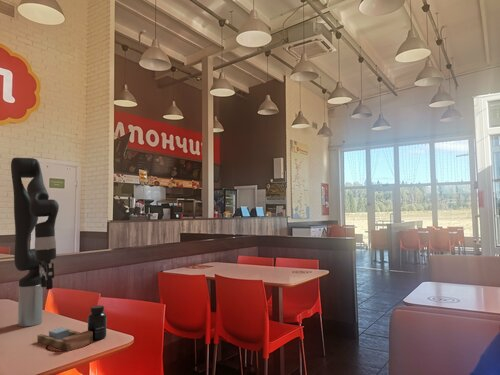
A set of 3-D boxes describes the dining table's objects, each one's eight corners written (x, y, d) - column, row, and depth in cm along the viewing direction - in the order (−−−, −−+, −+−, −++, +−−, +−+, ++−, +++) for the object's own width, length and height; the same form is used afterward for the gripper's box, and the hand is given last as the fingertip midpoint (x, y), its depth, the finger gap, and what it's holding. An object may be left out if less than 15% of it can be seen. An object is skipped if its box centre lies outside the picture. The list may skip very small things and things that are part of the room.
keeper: (48, 341, 141) (48, 331, 141) (61, 337, 145) (61, 327, 145) (56, 344, 138) (56, 333, 139) (68, 339, 142) (68, 329, 143)
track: (37, 341, 141) (37, 331, 141) (62, 334, 149) (62, 324, 149) (67, 351, 130) (67, 339, 130) (92, 342, 138) (92, 331, 139)
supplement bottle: (99, 341, 139) (99, 309, 140) (83, 340, 141) (83, 308, 141) (110, 335, 146) (110, 304, 147) (94, 334, 147) (94, 304, 148)
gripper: (31, 248, 153) (32, 288, 152) (39, 249, 143) (40, 291, 141) (51, 246, 158) (52, 284, 157) (60, 247, 148) (61, 288, 146)
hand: (46, 288), depth 149 cm, fingers open, 8 cm apart
